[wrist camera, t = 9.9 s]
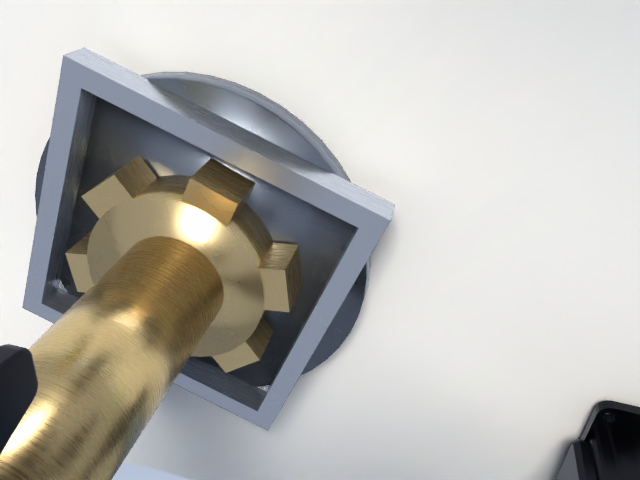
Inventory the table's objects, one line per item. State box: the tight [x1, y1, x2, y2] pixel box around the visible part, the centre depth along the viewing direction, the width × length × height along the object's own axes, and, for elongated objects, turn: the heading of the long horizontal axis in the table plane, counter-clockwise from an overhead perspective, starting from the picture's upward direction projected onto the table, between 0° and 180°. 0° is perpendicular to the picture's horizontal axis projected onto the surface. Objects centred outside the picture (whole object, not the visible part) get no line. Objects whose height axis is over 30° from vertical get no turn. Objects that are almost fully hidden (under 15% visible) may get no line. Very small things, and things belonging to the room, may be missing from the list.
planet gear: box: [0, 156, 302, 480], centre depth 18 cm, size 9×8×12 cm
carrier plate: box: [23, 48, 395, 430], centre depth 23 cm, size 14×14×4 cm
